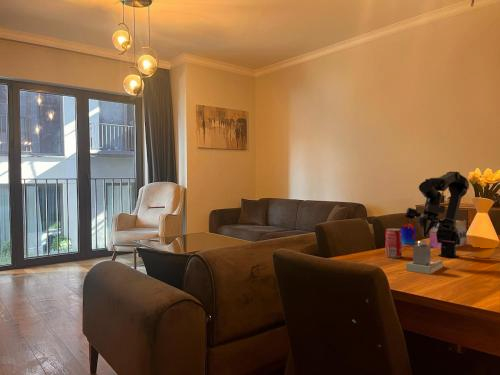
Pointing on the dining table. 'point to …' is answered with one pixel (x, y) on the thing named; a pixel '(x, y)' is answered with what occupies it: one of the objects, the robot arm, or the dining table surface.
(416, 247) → the gray block silver cap
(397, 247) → the soda can
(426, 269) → the rail
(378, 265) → the dining table surface
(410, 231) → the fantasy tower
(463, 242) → the gum box
